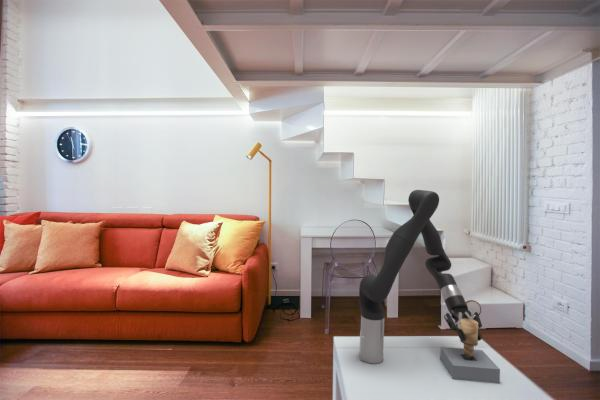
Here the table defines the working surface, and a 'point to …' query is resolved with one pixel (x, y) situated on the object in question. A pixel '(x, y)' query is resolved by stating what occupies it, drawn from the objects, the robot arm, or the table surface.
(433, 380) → the table surface
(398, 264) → the robot arm
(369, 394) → the table surface
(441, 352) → the board
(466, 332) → the peg
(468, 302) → the magnifying glass
